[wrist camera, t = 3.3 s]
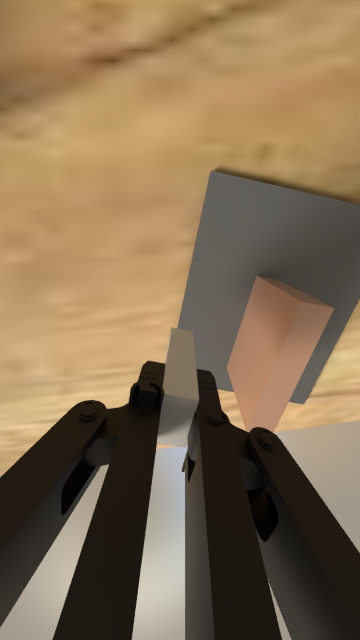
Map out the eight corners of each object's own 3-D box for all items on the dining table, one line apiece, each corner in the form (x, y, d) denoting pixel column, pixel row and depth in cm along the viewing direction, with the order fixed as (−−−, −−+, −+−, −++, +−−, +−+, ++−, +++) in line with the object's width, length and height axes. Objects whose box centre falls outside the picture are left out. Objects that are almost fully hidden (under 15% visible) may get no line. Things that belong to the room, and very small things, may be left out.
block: (256, 275, 20) (300, 301, 12) (281, 280, 20) (339, 309, 12) (226, 367, 23) (246, 430, 16) (247, 371, 23) (276, 435, 16)
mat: (210, 172, 17) (211, 170, 17) (397, 215, 18) (403, 214, 18) (167, 376, 25) (166, 380, 24) (301, 400, 25) (303, 404, 25)
